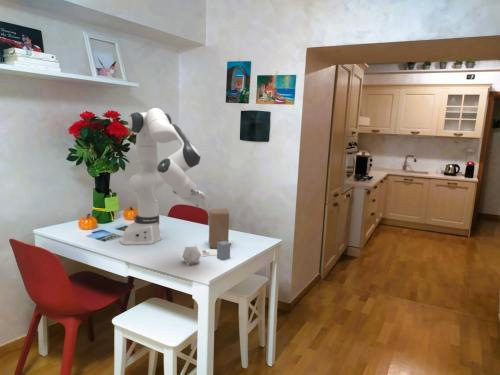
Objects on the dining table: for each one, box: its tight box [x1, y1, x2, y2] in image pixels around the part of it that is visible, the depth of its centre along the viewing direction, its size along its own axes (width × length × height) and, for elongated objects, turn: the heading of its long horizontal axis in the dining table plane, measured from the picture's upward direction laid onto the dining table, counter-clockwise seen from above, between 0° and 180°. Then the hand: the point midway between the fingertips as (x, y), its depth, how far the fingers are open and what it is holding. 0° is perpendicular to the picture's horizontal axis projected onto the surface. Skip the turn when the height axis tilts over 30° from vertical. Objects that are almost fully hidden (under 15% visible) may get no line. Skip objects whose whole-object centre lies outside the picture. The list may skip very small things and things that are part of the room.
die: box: [181, 245, 201, 265], centre depth 176 cm, size 8×9×10 cm
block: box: [208, 208, 230, 249], centre depth 201 cm, size 10×10×20 cm
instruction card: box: [199, 248, 217, 258], centre depth 190 cm, size 12×8×1 cm, turn 112°
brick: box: [216, 241, 231, 261], centre depth 184 cm, size 5×5×8 cm
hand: (204, 207), depth 172 cm, fingers open, 8 cm apart
